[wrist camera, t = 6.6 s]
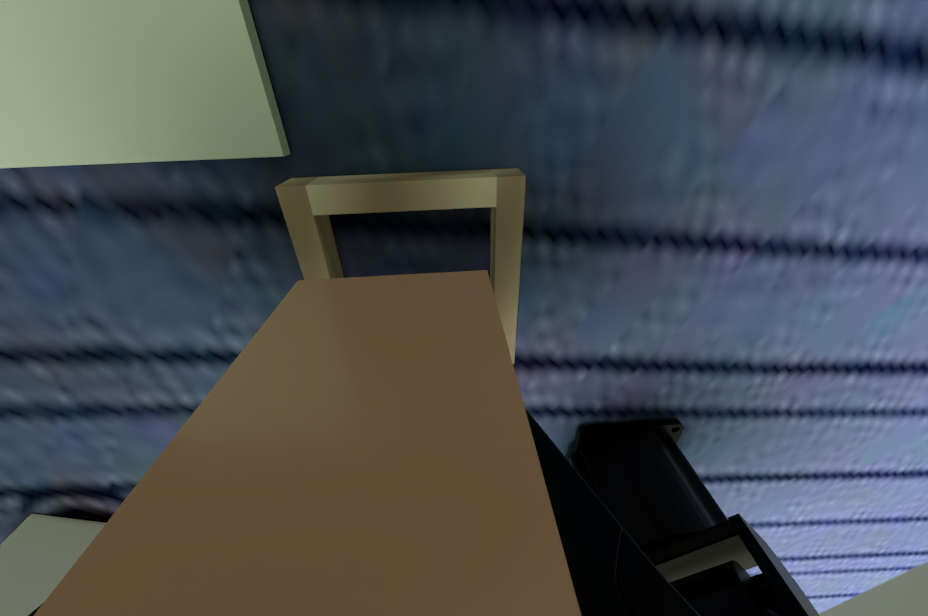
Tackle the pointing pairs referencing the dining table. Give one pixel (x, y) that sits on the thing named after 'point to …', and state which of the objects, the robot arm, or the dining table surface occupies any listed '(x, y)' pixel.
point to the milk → (40, 559)
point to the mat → (133, 83)
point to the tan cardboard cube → (344, 473)
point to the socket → (351, 194)
